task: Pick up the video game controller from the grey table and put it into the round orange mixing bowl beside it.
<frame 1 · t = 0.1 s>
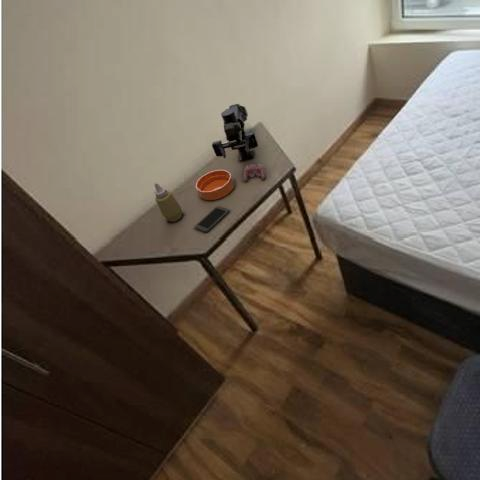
hand: (235, 154, 165), 17 cm above the table, tool horizontal, fingers open, 9 cm apart
orange mixing bowl: (217, 189, 179), on the table
squeeze bottle: (175, 217, 170), on the table
cell phone: (212, 220, 163), on the table
video game controller: (256, 177, 180), on the table
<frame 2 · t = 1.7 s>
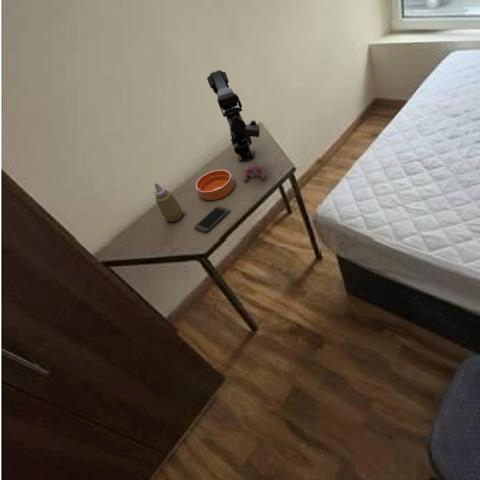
hand: (248, 155, 172), 11 cm above the table, tool pointing down, fingers open, 9 cm apart
nothing on the table moved.
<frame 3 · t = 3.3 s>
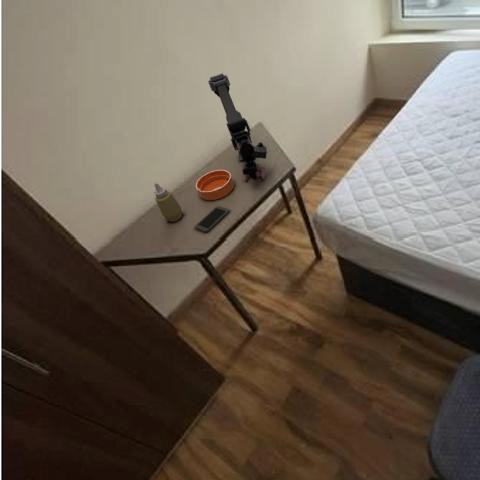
hand: (255, 175, 179), 1 cm above the table, tool pointing down, fingers closed on video game controller, 6 cm apart
video game controller: (256, 177, 180), on the table, touching gripper
everything else where it was.
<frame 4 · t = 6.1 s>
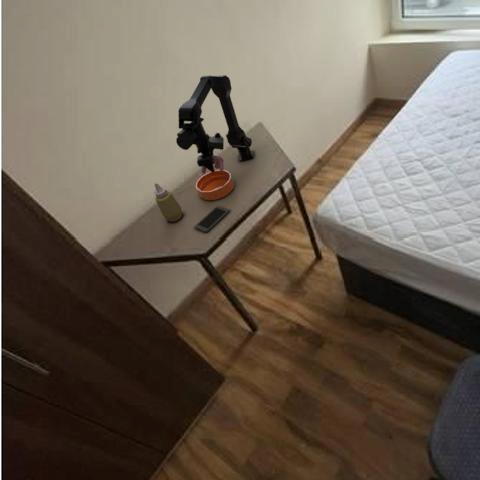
hand: (213, 167, 171), 11 cm above the table, tool pointing down, fingers closed on video game controller, 6 cm apart
video game controller: (214, 170, 172), point 10 cm above the table, touching gripper
everything else where it was.
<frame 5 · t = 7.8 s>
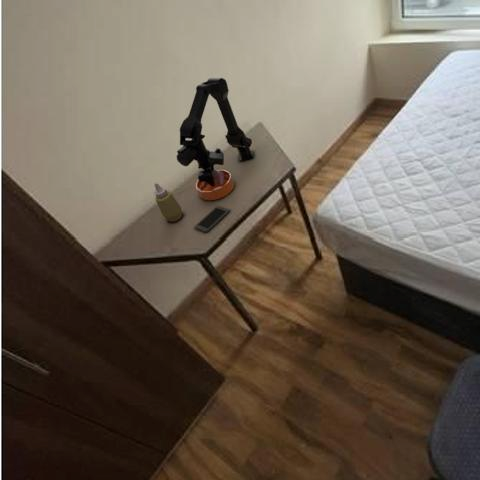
hand: (214, 182, 176), 4 cm above the table, tool pointing down, fingers closed on video game controller, 6 cm apart
video game controller: (215, 184, 177), point 3 cm above the table, touching gripper
everything else where it was.
when the fingers open (2 cm above the table, at t = 9.1 s): video game controller stays where it is, resting on orange mixing bowl.
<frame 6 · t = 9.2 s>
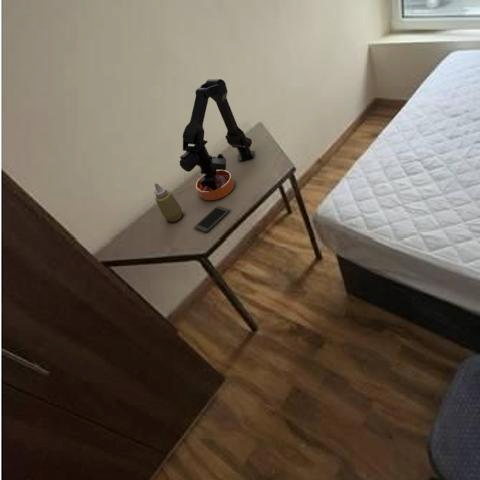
hand: (216, 186, 178), 1 cm above the table, tool pointing down, fingers open, 6 cm apart
video game controller: (217, 188, 179), resting on orange mixing bowl
everything else where it was.
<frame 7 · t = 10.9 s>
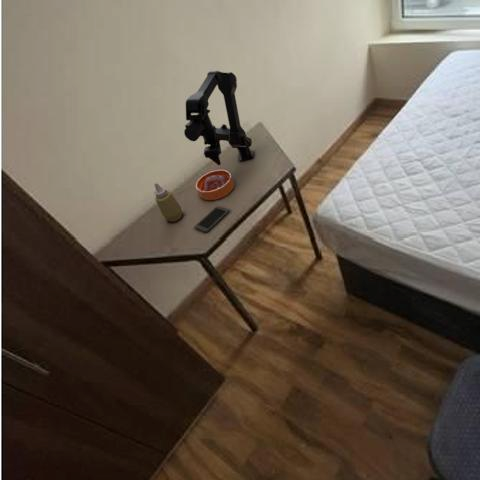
hand: (220, 159, 174), 12 cm above the table, tool pointing down, fingers open, 9 cm apart
nothing on the table moved.
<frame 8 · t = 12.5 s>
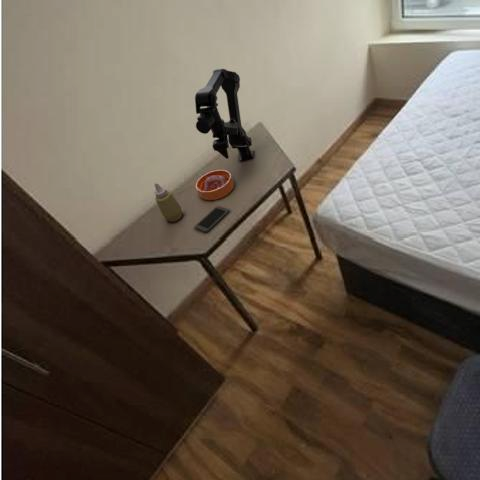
hand: (227, 152, 176), 12 cm above the table, tool pointing down, fingers open, 9 cm apart
nothing on the table moved.
at the end: video game controller inside the target area in the orange mixing bowl (0.1 cm from its centre), point 0.3 cm above the orange mixing bowl's base; the gripper is holding nothing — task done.
